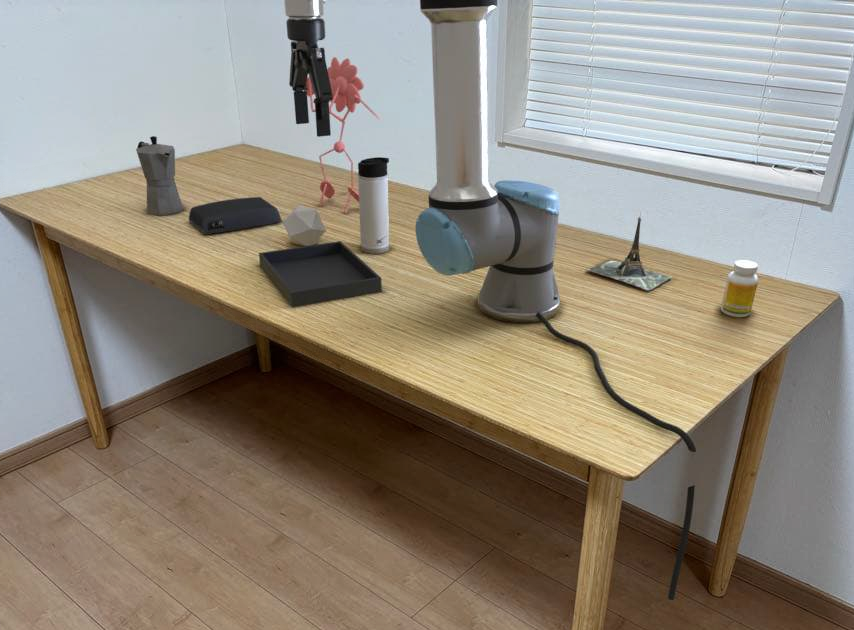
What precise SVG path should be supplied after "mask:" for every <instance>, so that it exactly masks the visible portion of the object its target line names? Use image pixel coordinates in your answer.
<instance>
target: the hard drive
mask: <svg viewBox="0 0 854 630" xmlns="http://www.w3.org/2000/svg"><path fill="white" fill-rule="evenodd" d="M188 214H189V215H188V222H189V223H191V225H193V226H194V227H195V228H196V229H198V230H199V231H200V232H201V233H202V234H203V235H209V234H210V235H211V234H216V233H217V234H218V233H223V232H225V233H226V232H230V231H231V232H232V231H236V230H237V231H238V230H243V229H249V228H255V227H260V226H264V225H271V224H274V223H280V222H282V221H283V220H282V218H281V217H282V216H281V215H280V212H279V210H278V208H277V207H276V206H274V205H273V204H271V203H270V202H268V201H267V200H265V199H264V198H262V197H261V196H252V197H250V196H249V197H240V198H231V199H224V200H218V201H214V202H208V203H204V204H199V205H196V206H192V207H191V208H190V210H189V213H188Z"/></svg>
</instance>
